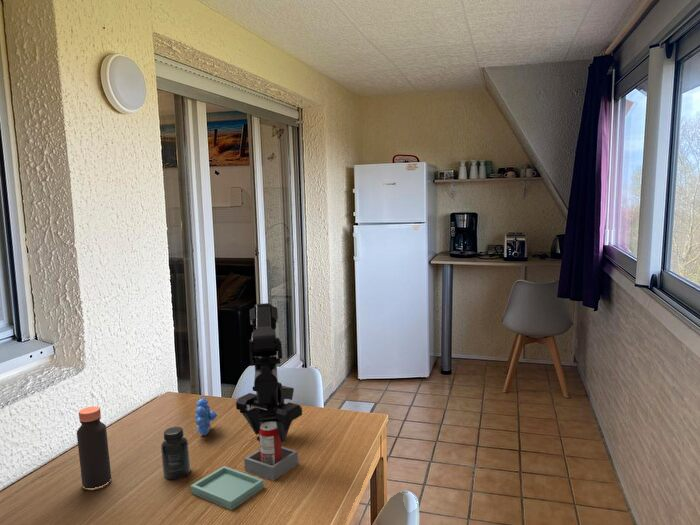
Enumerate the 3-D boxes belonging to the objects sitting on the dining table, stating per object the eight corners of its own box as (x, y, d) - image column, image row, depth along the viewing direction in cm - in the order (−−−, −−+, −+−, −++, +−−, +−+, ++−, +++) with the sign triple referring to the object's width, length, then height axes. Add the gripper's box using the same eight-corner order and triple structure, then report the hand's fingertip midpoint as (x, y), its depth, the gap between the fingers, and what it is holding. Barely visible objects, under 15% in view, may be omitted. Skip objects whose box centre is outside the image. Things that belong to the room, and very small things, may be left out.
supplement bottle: (195, 468, 142) (192, 426, 141) (180, 482, 136) (176, 437, 134) (174, 465, 145) (170, 423, 143) (157, 478, 138) (153, 434, 137)
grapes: (216, 442, 158) (213, 403, 156) (193, 444, 157) (190, 405, 155) (220, 425, 169) (218, 389, 167) (199, 427, 168) (196, 391, 167)
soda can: (280, 460, 145) (277, 418, 143) (284, 470, 140) (281, 426, 138) (260, 464, 143) (257, 422, 142) (263, 474, 138) (260, 430, 137)
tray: (191, 493, 130) (190, 485, 130) (224, 472, 139) (224, 465, 139) (231, 509, 123) (230, 501, 122) (263, 487, 132) (263, 479, 131)
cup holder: (245, 470, 140) (244, 458, 140) (270, 454, 148) (269, 442, 148) (273, 480, 135) (272, 467, 134) (298, 463, 143) (297, 451, 142)
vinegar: (117, 478, 139) (109, 405, 137) (100, 492, 132) (92, 416, 130) (94, 476, 140) (86, 404, 138) (76, 490, 134) (68, 414, 131)
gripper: (313, 377, 140) (316, 433, 142) (261, 367, 150) (265, 419, 152) (286, 391, 131) (289, 451, 133) (232, 379, 141) (236, 434, 143)
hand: (270, 437), depth 141 cm, fingers open, 9 cm apart
